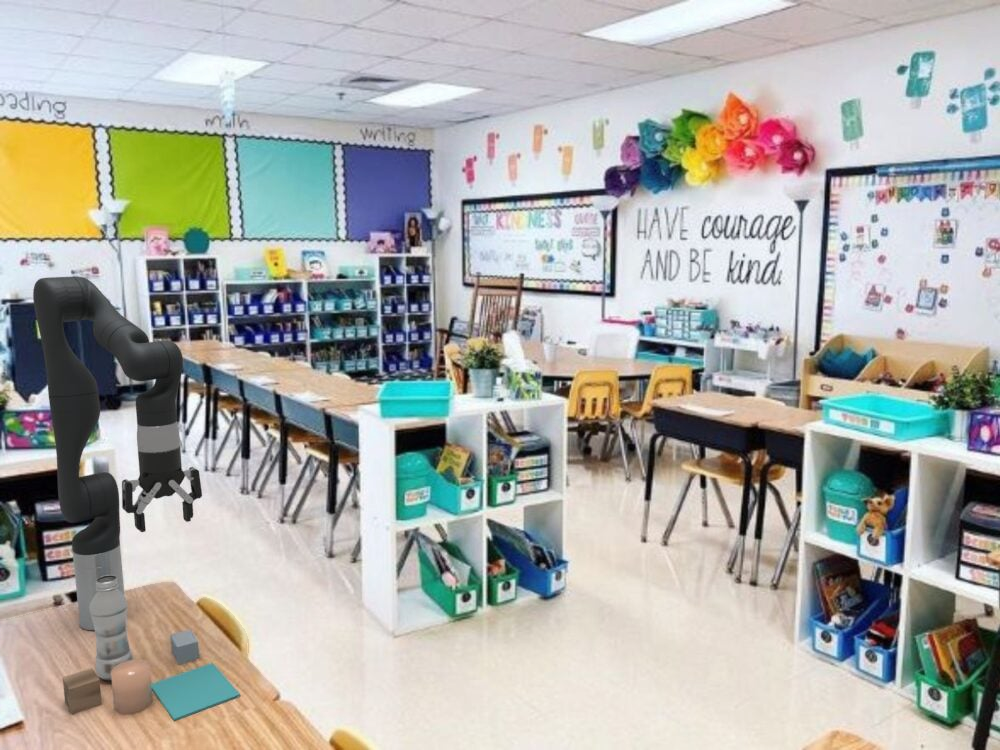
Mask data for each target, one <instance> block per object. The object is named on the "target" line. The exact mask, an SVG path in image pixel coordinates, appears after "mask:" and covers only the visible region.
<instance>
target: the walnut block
mask: <svg viewBox="0 0 1000 750" xmlns="http://www.w3.org/2000/svg"><path fill="white" fill-rule="evenodd" d="M100 681H101V680H100V677H99V676H98V674H97V672H96V670H94V668H93V667H92V668H91V667H90V668H88V669H85V670H81V671H79V672H75V673H72V674H69V675H66V676H63V677H62V686H63V696H64V703H65V705H66V706H67V708H68V710H69V712H70V715H71V716H72V715H75V714H77V713H80V712H83V711H86V710H89V709H92V708H96V707H99V706H100V705H102V704H103V701H102V691H101V682H100Z"/></svg>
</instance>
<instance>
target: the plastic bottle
mask: <svg viewBox="0 0 1000 750" xmlns="http://www.w3.org/2000/svg"><path fill="white" fill-rule="evenodd" d="M117 588H118V581H117V576H115V575H105V576H101V577H99V578H97V579H96V591H98V592H97V593H96V595H95V596H94V598H93V599H92V601H91V603H90V613H91V617H92V620H93V624H94V628H95V630H94V632H95V633H94V634H95V641H96V652H95V653H96V655H95V661H94V662H95V663H94V666H95V668H94V669H95V673H96V675H97V676H98V678H99V679H100V678H101V679H102V680H104V681H112V679H111V671H112V669H113V668H114V667H115V666H117V665H118V664H120V663H123V662H125V661H129V660H134V658H133V653H132V650H131V648H130V644H129V643H130V642H129V638H128V630H127V626H128V625H127V617H128V600H127V598H126V596H124V595H125V594H124V595H123V594H122V593H121V592H120V591H119V590H118V589H117Z"/></svg>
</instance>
